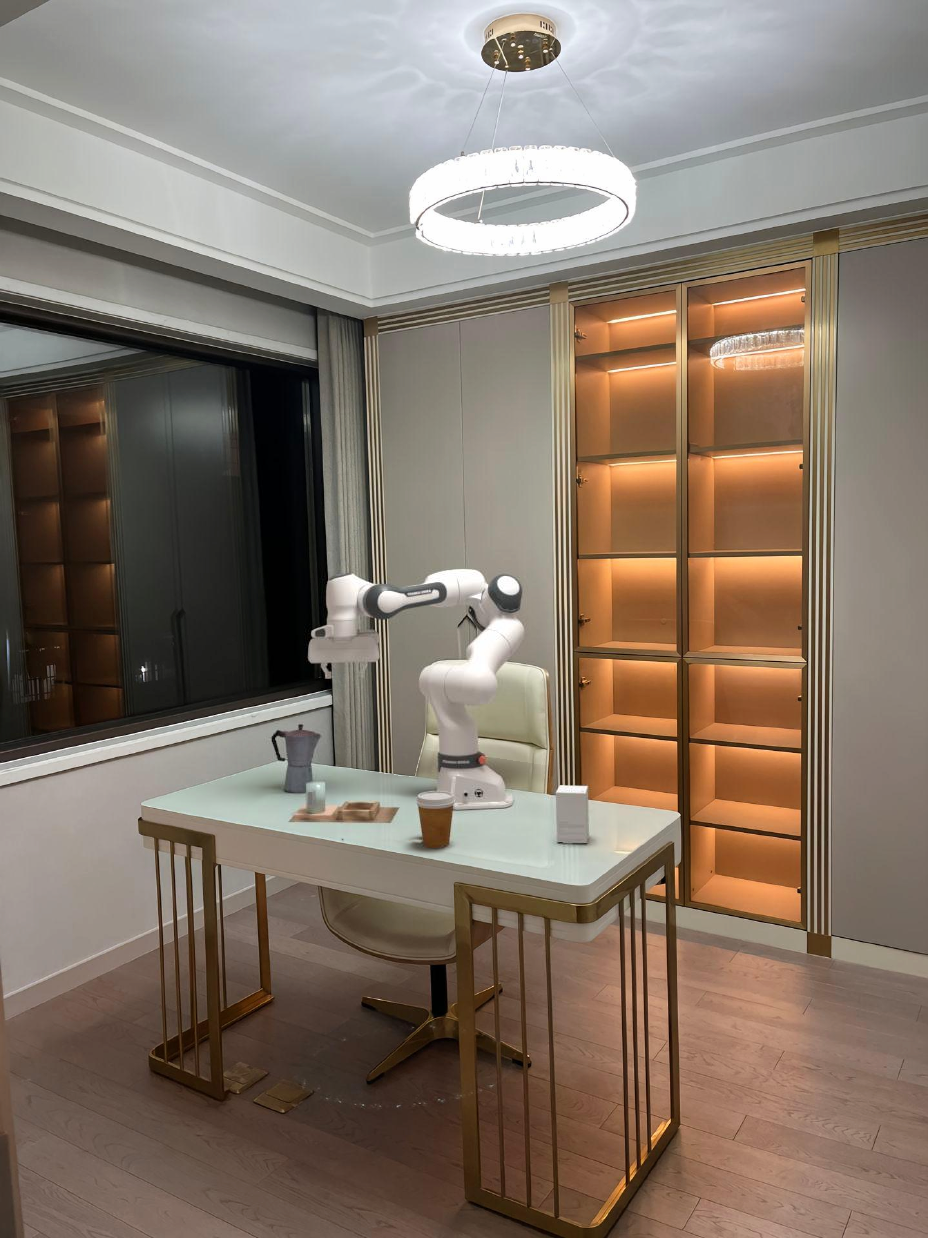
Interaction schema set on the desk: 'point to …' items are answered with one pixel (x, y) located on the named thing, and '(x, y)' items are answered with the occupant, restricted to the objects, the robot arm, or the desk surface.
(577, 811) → the supplement box
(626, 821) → the desk surface
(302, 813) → the terracotta coaster
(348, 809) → the walnut board
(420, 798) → the disposable coffee cup
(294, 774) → the moka pot
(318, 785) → the pale blue rounded piece
